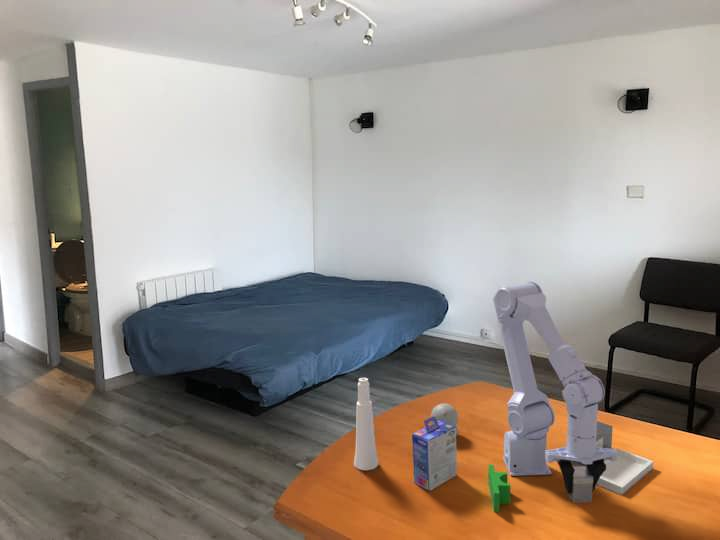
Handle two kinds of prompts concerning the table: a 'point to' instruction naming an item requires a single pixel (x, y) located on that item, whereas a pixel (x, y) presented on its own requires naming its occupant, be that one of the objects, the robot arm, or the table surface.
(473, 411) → the table surface
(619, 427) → the table surface
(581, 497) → the block
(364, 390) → the cosmetic bottle
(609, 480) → the tray
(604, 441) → the mounted housing
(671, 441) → the table surface
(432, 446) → the ink cartridge box
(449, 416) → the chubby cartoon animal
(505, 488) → the pipe clamp
